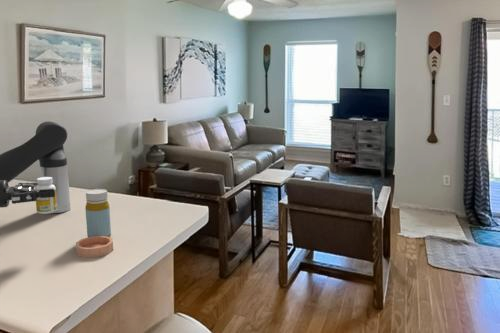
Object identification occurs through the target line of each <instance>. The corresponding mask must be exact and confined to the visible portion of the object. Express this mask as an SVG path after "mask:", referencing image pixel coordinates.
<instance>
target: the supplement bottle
mask: <svg viewBox="0 0 500 333" xmlns="http://www.w3.org/2000/svg"><path fill="white" fill-rule="evenodd" d="M36 183H37V184H38V186H36V187H34V189H35V190H39V191H40V190H43V189H54V190H55V196H54V197H48V198H40V199H37V201H35V206H36V213H38V214H40V215H41V214H43V215H44V214H45V215H46V214H47V215H48V214H54V213H53V212H55V211H57V198H56V187H55V185H53V184H52V183H53V180H52V177H41V176H40V177H38V178H36Z"/></svg>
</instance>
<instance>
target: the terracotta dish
mask: <svg viewBox="0 0 500 333" xmlns="http://www.w3.org/2000/svg"><path fill="white" fill-rule="evenodd" d="M75 250H76V251H75V253H76V255H77V256H79V257H81V258H96V257H102V256H105V255H108V254H110V253H112V252H113V251H114V241H113V238H112V237H111V236H110V237H107V236H93V237H88V236H87V237H85V238H82V239H80V240H78V241H76V242H75Z"/></svg>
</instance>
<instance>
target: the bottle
mask: <svg viewBox="0 0 500 333" xmlns="http://www.w3.org/2000/svg"><path fill="white" fill-rule="evenodd" d="M85 197H86V198H85V200H86V203H85V218H86V219H85V221H86V236H87V237H93V236H107V237H110V238H111V235H112V229H111V227H112V225H111V214H110V213H111V211H110V210H111V209H110V203H109V201H108V190H107V189H104V188H95V189H89V190H87V191H85Z"/></svg>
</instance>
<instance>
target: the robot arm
mask: <svg viewBox="0 0 500 333" xmlns="http://www.w3.org/2000/svg"><path fill="white" fill-rule="evenodd" d="M67 139H68V131H67V129H66V127H65V126H63V125H61V124H60V123H57V122H54V121H44V122H42V123H40V124H39V125H38V126H37V127H36V131H35V134H34V136H32V137H31V138H30V139H28V140H27V141H25V142H24V143H22V144H20V145H18V146H16V147H14V148H11V149H9V150H6V151H4V152H3V153H1V154H0V208H8V206H9V205H10V201H11V204H15V205H16V204H21V203H22V204H23V203H31V202H36V201H37V199H40V198H48V197H54V196H55V190H54V189H43V190H40V191H39V190H35V187H36V186H38V184H37V182H19V183H17V184H15V185H14V186H13V185H12V186H9V183H10V182H11V181H13V180H14V179H16V178H17V177H18V176H19V175H20V174H22V173H23V172H24V171H26V170H27V169H28V168H30V167H31V166H32V165H33V164H35V163H36V162H37V161H39V162H38V163H39V169H40V170H39V171H40V178H41V177H52V180H53V183H52V184H53V185H55V187H56V198H57V211H55V212H53V213H52V214H61V213H65V212H68V211H70V210H71V197H70V195H71V194H70V186H69V185H70V184H69V183H70V182H69V173H68V172H69V169H68V158H67V156H66V153H65V149H64V144H65V143H66V141H67Z"/></svg>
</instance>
